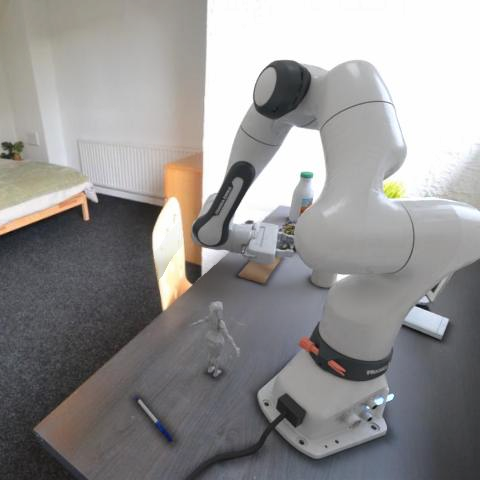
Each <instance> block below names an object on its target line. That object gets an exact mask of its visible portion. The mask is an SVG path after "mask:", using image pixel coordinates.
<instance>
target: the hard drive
mask: <svg viewBox="0 0 480 480" xmlns="http://www.w3.org/2000/svg"><path fill="white" fill-rule="evenodd" d="M449 322H450V319H449V318H447V317H444V316H442V315H439V314H436V313H434V312H431V311H429V310H426V309H424V308H421V307H418V306H417V305H415V306H414V307H413V309H412V310H411V311H410V312H409V314H408V315H407V317H406V318H405V320H404V322H403V324H402V326H405V327H408V328H411V329H413V330H416V331H418V332H421V333H423V334H424V335H425V334H426V335H428V336H430V337H433V338H435V339H438V340H442V338H443V336H444V334H445V331H446V329H447V326H448V324H449Z"/></svg>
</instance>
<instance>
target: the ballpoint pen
mask: <svg viewBox="0 0 480 480" xmlns="http://www.w3.org/2000/svg"><path fill="white" fill-rule="evenodd" d="M135 400H136V402H137V403H138V405H140V407H141V408H142V409H143V411H144V412H145V413H146V415H148V417H149V418H150V419H151V420H152V421H153V423H154V424H155V426H156V427H157V428H158V429H159V431H160V432H161V433H162V434H163V435H164V437H165V438H166V439H167V440H168V441H169V442H172V441H173V437H172V435H171V434H170V433H169V432H168V430H167V429H166V428H165V427H164V426H163V425H162V423H161V422H160V421H159V420H158V419H157V417H155V415H154V414H153V413H152V412H151V411H150V409H149V407H148V406H146V405H145V403H144V402H143V401H142V399H140V398H139V397H138V396H137V397H136V398H135Z"/></svg>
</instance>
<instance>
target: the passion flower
mask: <svg viewBox="0 0 480 480" xmlns="http://www.w3.org/2000/svg"><path fill="white" fill-rule="evenodd" d="M297 221H298V220H297ZM297 221H291V220H289V219H288V220H286V222H285V223H283V224H282V227H281V228H278V232H283V233H285V234H288V235H293V236H294V230H295V226H296V223H297ZM279 244H281V245H282V244H283V245H282V249H287V248H288V246H289V249H292V250H294V249H295V245H294V240H293V242H292V243H291V242H287V241H285V240H282V239H281V240H279Z"/></svg>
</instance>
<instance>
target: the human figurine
mask: <svg viewBox="0 0 480 480" xmlns="http://www.w3.org/2000/svg"><path fill="white" fill-rule="evenodd" d="M223 310H224V304H223V302H221V301H220V300H219V301H212V302H210V304H209V305H208V309H207V311H208V314H207V316H205V317H204V318H203V319H198V321H195V322H193V323H192V324H190V325H189V328H192V327H193V326H195V325H201V324H203V323H206V322H208V328H209V330H208V331H207V332H206V333H205V337H204V339H205V343H206V348H207V352H208V355H207V364H208V368H207V373H208V374H209V373H210V374H212V373H213V377H215V378H216V377H218V376H219V374H221V373H222V370H220V369H219V364H220V359H221V354H222V351H223V349H224V346H225V343H226V340H225V338H224V336H223V334H224V335H225V336H226V339H227V341H228V342H229V344H230V345H231V346H232V347H233V349H234V351H235V353H236V358H241V357H242V355H243V354H242V353H241V352H240V351H241V348H240V347H238V346H237V345H236V343H235V340H234V338H233V337H232V336H231V335H230V334H229V331H228V329H227V327H226V322H225V321H224V320H223ZM222 333H223V334H222ZM212 359H213V361H212ZM212 363H213V366H212Z"/></svg>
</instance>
